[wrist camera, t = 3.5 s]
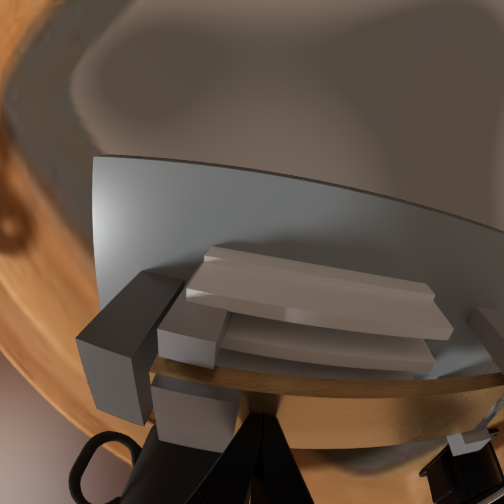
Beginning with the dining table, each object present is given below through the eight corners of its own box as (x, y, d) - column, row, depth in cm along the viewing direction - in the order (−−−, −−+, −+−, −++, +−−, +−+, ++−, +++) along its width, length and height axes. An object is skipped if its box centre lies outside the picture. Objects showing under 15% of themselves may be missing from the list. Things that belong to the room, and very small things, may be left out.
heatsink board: (533, 243, 10) (602, 292, 5) (442, 414, 15) (465, 480, 10) (106, 154, 11) (2, 176, 6) (121, 372, 16) (77, 442, 11)
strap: (511, 367, 8) (526, 388, 7) (479, 412, 9) (490, 433, 8) (159, 349, 8) (143, 383, 7) (164, 407, 9) (153, 438, 8)
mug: (110, 377, 17) (36, 496, 7) (275, 443, 17) (259, 576, 8) (106, 428, 20) (58, 517, 10) (233, 479, 20) (213, 575, 11)
